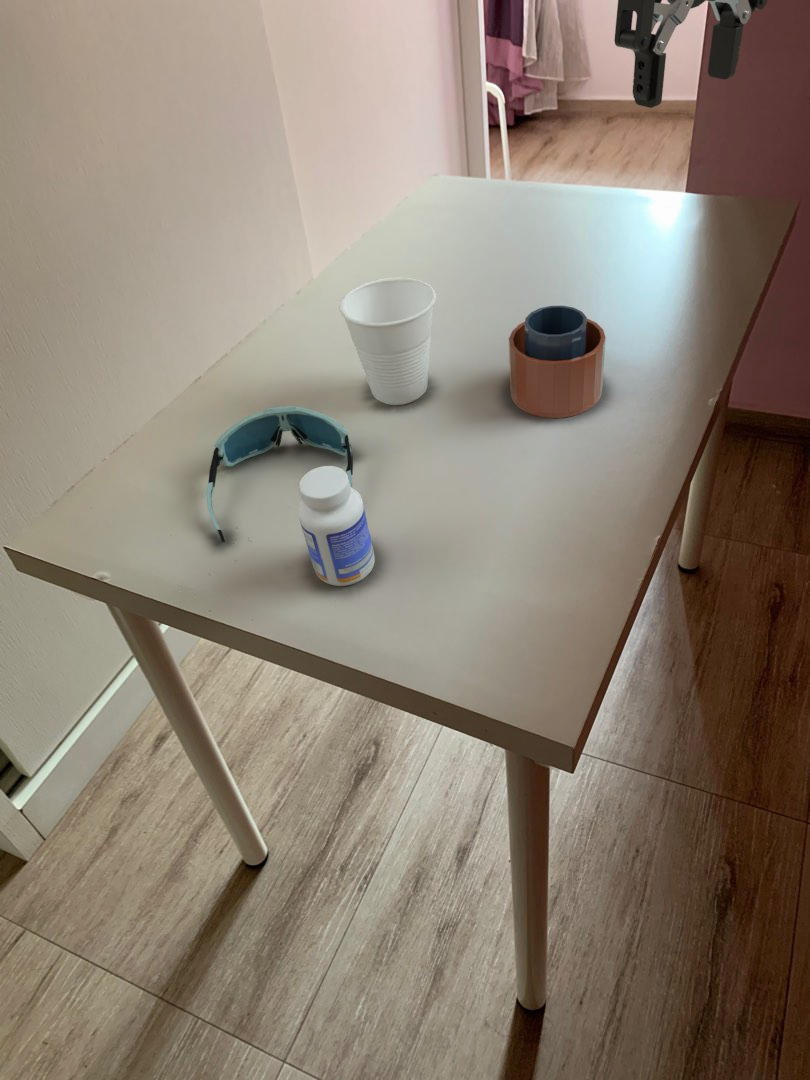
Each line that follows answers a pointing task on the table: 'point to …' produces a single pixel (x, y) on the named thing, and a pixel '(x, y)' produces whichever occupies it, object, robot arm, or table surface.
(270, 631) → the table surface
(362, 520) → the pill bottle
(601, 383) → the terracotta cup
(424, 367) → the cup
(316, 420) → the sunglasses
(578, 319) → the slate cup
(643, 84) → the robot arm
